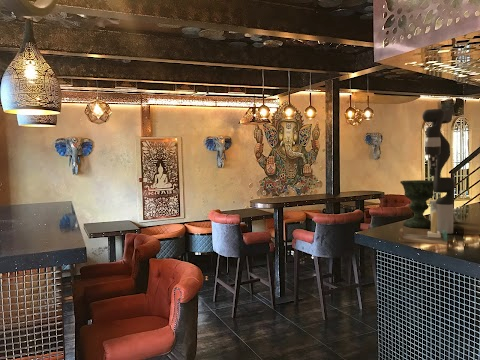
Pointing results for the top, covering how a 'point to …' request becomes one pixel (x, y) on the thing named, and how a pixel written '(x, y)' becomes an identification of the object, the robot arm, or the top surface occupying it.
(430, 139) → the robot arm
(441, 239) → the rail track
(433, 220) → the carriage
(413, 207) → the goblet
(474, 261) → the top surface
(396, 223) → the top surface
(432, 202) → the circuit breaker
